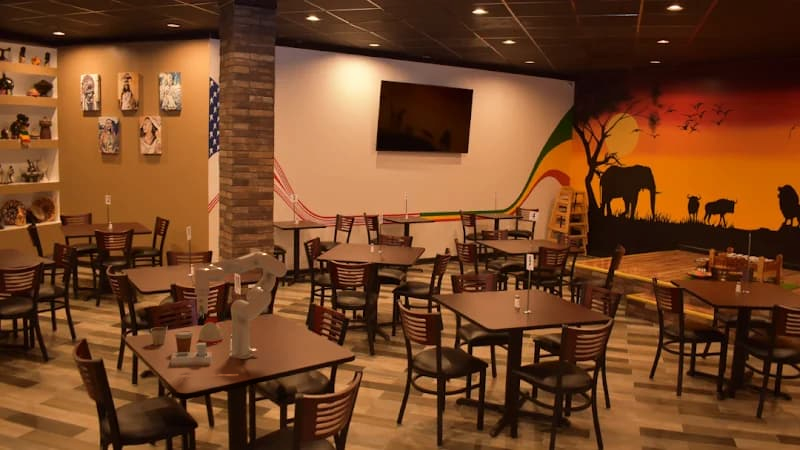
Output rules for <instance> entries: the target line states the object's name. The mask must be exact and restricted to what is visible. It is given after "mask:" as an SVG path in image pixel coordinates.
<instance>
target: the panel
mask: <svg viewBox="0 0 800 450" xmlns="http://www.w3.org/2000/svg"><path fill="white" fill-rule="evenodd" d="M212 360H213V351H206V356H198V351H190V352H178V351H177V352H173V353H172V355H171V358H170V366H172V367H173V366H176V367H179V366H180V367H182V366H203V365H206V366H211V364H212Z"/></svg>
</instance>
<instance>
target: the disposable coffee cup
mask: <svg viewBox="0 0 800 450" xmlns="http://www.w3.org/2000/svg"><path fill="white" fill-rule="evenodd" d="M174 337H175V340H176V341H175V343H176V349H177V352H191V345H192V338H193V332H192V331H191V330H179V331H176V332H175V334H174Z"/></svg>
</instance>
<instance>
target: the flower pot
mask: <svg viewBox="0 0 800 450" xmlns="http://www.w3.org/2000/svg"><path fill="white" fill-rule="evenodd" d="M167 330H168V328H167V327H164V326H161V327H160V326H159V327H157V326H156V327H152V328H150V330H149V331H150V334H151V339H152V344H153V345H155V346H157V345H159V346H160V345H164V344H165V339H166V334H167Z"/></svg>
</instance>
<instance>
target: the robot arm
mask: <svg viewBox="0 0 800 450" xmlns="http://www.w3.org/2000/svg"><path fill="white" fill-rule="evenodd" d="M256 268H259V269H262V276H261V279H260V280H259V281H258V282H256V283H255V284H254V286H252V287H251V288H250V289H249V290H248V292H247V293H246V295H245V296H246V300H243V299H237V300H234V302H233V303H231V306H230V314H231V315H230V316H231V320H232V321H231V322H232V323H231V324H232V325H231V352H230V353H228V356H229V357H231V358H235V359H236V358H237V359H240V360H247V359H250V358H251V357H252V356H253V354H258V349H256V348H251V346H250V338H251V337H250V330H251V329H250V328H251V327H250V326H251V324H250V321H253V320H255V319H257V317H258V316H259V315H261V314H262V313H263V312H264V310H265V309H266V308H267V307H269V305H270V304H271V302H272V294H271V293H270V292H271V291H272V290H273V288H274V287H275V284H276V282H277V281H276V280H277V279H276V278H282V277H284V276H285V275H286V274H287V272H288V268H287V266H286V264H285V263H284V262H282V261H280V260H278V259H277V258H275V257H274V256H272V255H270V254H268V253H266V252H262V251H254V252H251V253H247V254H245V255H242V256H240V257H236V258H231V259H226V260H225V259H224V260H220V261H217V262H214V263H211V264H208V265H207V266H205V267H198V268H196V269H195V271H194V295H195V296H196V311H197V312H196V313H197V314H198V315H197V317H198V318H197V326H198V327H199V326H200V327H201V326H202V327H203V326H204V325H205V321H207V314H208V311H209V306H208V305H209V299H208V298H209V295H210V294H211V293H210V289H211V288H210V287H211V286H210V285H211V284H210V283H211V282H215V283H216V282H217V283H218V282H223V281H224V279H226V275H227V274H242V273H246V272H248V271H250V270H253V269H256Z"/></svg>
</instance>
